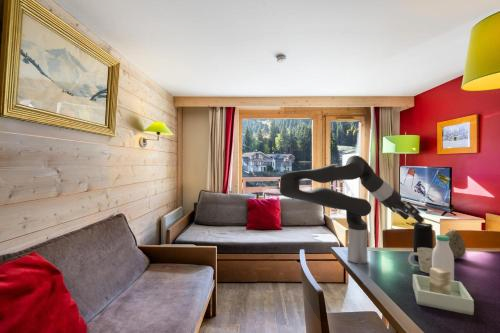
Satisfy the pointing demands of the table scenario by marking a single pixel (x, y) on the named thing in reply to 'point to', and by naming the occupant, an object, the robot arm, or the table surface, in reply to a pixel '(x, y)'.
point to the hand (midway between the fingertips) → (414, 219)
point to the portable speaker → (422, 237)
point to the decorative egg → (456, 244)
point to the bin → (443, 296)
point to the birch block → (440, 281)
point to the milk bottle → (443, 255)
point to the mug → (423, 259)
